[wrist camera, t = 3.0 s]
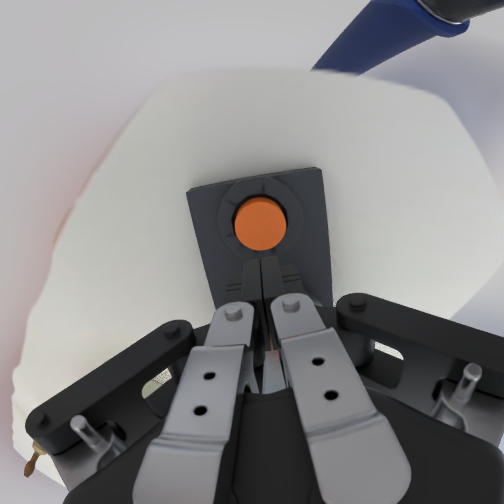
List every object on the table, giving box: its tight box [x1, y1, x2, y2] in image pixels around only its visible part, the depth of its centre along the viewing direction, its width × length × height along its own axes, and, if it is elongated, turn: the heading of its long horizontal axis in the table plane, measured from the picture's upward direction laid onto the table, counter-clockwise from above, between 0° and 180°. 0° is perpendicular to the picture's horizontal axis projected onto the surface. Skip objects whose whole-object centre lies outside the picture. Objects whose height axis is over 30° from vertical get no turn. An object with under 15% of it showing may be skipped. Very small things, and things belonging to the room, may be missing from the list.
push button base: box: [186, 167, 333, 310], centre depth 25 cm, size 17×11×4 cm, turn 10°
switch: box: [235, 197, 286, 250], centre depth 20 cm, size 4×4×2 cm
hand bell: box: [24, 441, 46, 477], centre depth 40 cm, size 8×8×16 cm
